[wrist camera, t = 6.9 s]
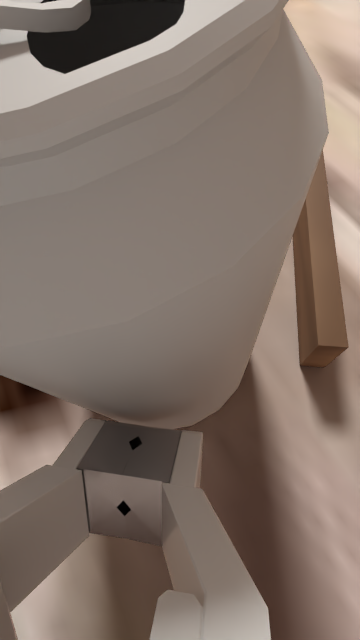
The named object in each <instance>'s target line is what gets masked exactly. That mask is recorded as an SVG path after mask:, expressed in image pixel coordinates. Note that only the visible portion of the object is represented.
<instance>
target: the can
mask: <svg viewBox="0 0 360 640" xmlns="http://www.w3.org/2000/svg"><path fill="white" fill-rule="evenodd" d="M287 2H288V0H0V375H3V376H5V377H8V378H10V379H13V380H15V381H18V382H20V383H23V384H25V385H28V386H30V387H33V388H35V389H38V390H40V391H43V392H45V393H48V394H50V395H53V396H55V397H58V398H60V399H63V400H66V401H68V402H71V403H73V404H76V405H78V406H81V407H83V408H86V409H88V410H91V411H93V412H96V413H98V414H101V415H103V416H106V417H108V418H111V419H113V420H116V421H118V422H121V423H128V424H135V425H141V426H148V427H157V428H165V429H178V428H183V427H187V426H192V425H194V424H196V423H198V422H199V421H201V420H203V419H205V418H206V417H208V416H210V415H211V414H213V413H215V412H216V411H218V410H219V409H220V408H221V407H222V406H223V405H224V404H225V402H226V401H227V400H228V399H229V398H230V397H231V395H232V394H233V393H234V392H235V391H236V390H237V388H238V387H239V384H240V382H241V379H242V377H243V374H244V372H245V369H246V367H247V364H248V362H249V359H250V356H251V353H252V350H253V347H254V344H255V342H256V339H257V336H258V333H259V330H260V327H261V324H262V322H263V319H264V316H265V313H266V310H267V307H268V304H269V302H270V299H271V296H272V293H273V290H274V287H275V284H276V282H277V279H278V276H279V273H280V270H281V267H282V265H283V262H284V259H285V256H286V253H287V250H288V247H289V245H290V242H291V239H292V236H293V233H294V230H295V227H296V225H297V222H298V219H299V216H300V213H301V210H302V207H303V205H304V202H305V199H306V196H307V193H308V190H309V187H310V185H311V182H312V179H313V176H314V173H315V170H316V167H317V165H318V162H319V159H320V156H321V153H322V150H323V147H324V145H325V142H326V139H327V136H328V133H329V132H328V124H327V116H326V108H325V100H324V92H323V84H322V79H321V77H320V75H319V74H318V72H317V70H316V68H315V66H314V64H313V63H312V61H311V59H310V57H309V55H308V53H307V52H306V50H305V48H304V46H303V44H302V42H301V41H300V39H299V37H298V35H297V33H296V31H295V30H294V28H293V26H292V24H291V22H290V21H289V19H288V17H287V15H286V13H285V11H284V10H283V8H284V6H285V5H286V3H287Z"/></svg>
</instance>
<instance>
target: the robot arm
mask: <svg viewBox="0 0 360 640" xmlns="http://www.w3.org/2000/svg"><path fill="white" fill-rule="evenodd" d="M202 447H203V433H202V432H197V431H187V430H183V431H182V430H174V429H165V428H157V427H148V426H141V425H135V424H128V423H121V422H115V421H106V420H99V419H92V418H90V419H88V420H86V421H85V422H84V423H83V425H82V426H81V427H80V429H79V430H78V432H77V433H76V434H75V436H74V437H73V438H72V440H71V441H70V442H69V444H68V445H67V447H66V448H65V449H64V451H63V452H62V453H61V455H60V456H59V457H58V459H57V460H56V462H55V463H54V464H53V466H52V465H45V466H44V467H42V468H40V469H38V470H36V471H35V472H33V473H31V474H29V475H27V476H26V477H24V478H22V479H20V480H18V481H17V482H15V483H13V484H11V485H9V486H8V487H6V488H4V489H2V490H0V640H18V638H17V635H16V631H15V628H14V624H13V621H12V617H11V614H10V612H11V611H12V610H13V609H14V608H15V607H16V606H17V605H19V604H20V603H21V602H22V601H23V600H24V599H25V598H26V597H27V596H28V595H29V594H30V593H31V592H32V591H33V590H34V589H35V588H36V587H37V586H38V585H39V584H40V583H41V582H42V581H43V580H44V579H45V578H46V577H47V576H48V575H49V574H50V573H51V572H52V571H53V570H54V569H55V568H57V567H58V566H59V565H60V564H61V563H62V562H63V561H64V560H65V559H66V558H67V557H68V556H69V555H70V554H71V553H72V552H73V551H74V550H75V549H76V548H77V547H78V546H79V545H80V544H81V543H82V542H83V541H84V540H85V539H86V538H87V537H88V536H89V533H93V534H100V535H106V536H113V537H119V538H126V539H130V540H135V541H139V542H144V543H148V544H153V545H158V546H162V549H163V553H164V557H165V560H166V564H167V567H168V571H169V575H170V578H171V582H172V585H173V589H174V591H173V590H168V589H167V590H166V591H165V592H164V593H163V594H162V595H161V596H160V597H158V601H157V605H156V610H155V615H154V620H153V625H152V630H151V635H150V639H149V640H271V635H270V624H269V614H268V607H267V605H266V604H265V602H264V600H263V598H262V596H261V594H260V593H259V591H258V589H257V587H256V585H255V584H254V582H253V580H252V578H251V576H250V574H249V573H248V571H247V569H246V567H245V565H244V564H243V562H242V560H241V558H240V556H239V554H238V553H237V551H236V549H235V547H234V545H233V544H232V542H231V540H230V538H229V536H228V534H227V533H226V531H225V529H224V527H223V525H222V523H221V522H220V520H219V518H218V516H217V514H216V513H215V511H214V509H213V507H212V505H211V503H210V502H209V500H208V498H207V496H206V494H205V493H204V491H203V489H201V488H200V481H201V466H202Z"/></svg>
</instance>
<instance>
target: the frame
mask: <svg viewBox="0 0 360 640" xmlns="http://www.w3.org/2000/svg"><path fill="white" fill-rule="evenodd" d="M293 250H294V268H295V286H296V304H297V323H298V341H299V359H300V366H313V367H325V366H327V365H328V364H329V363H330V362H331V361H333V360H334V359H335V358H336V357H337V356H339V355H340V354H341V353H342V352H343V351H345V350H346V349H347V348H348V340H347V333H346V325H345V317H344V309H343V302H342V294H341V286H340V279H339V271H338V263H337V256H336V248H335V240H334V233H333V225H332V217H331V210H330V202H329V194H328V187H327V179H326V171H325V164H324V156H323V150H322V153H321V156H320V159H319V162H318V165H317V167H316V170H315V173H314V176H313V179H312V182H311V185H310V187H309V190H308V193H307V196H306V199H305V202H304V205H303V207H302V210H301V213H300V216H299V219H298V222H297V225H296V227H295V230H294V233H293Z"/></svg>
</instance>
